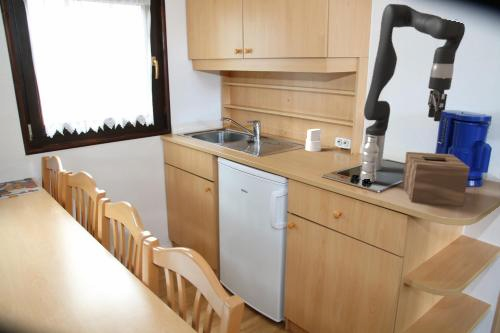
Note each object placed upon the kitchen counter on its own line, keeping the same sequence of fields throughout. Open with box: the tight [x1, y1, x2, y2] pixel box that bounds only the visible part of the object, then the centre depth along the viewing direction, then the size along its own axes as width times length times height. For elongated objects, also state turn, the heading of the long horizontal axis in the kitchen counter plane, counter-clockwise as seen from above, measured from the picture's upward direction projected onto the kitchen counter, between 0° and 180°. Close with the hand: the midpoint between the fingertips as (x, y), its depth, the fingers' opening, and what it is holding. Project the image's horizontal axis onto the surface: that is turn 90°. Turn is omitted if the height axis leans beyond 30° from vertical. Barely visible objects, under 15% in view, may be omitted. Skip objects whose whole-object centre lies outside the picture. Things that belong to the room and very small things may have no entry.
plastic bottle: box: [360, 137, 379, 183], centre depth 165 cm, size 6×7×20 cm
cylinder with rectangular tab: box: [305, 128, 322, 152], centre depth 224 cm, size 9×9×12 cm
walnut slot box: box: [401, 151, 471, 207], centre depth 150 cm, size 20×18×15 cm
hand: (433, 119), depth 147 cm, fingers open, 8 cm apart
